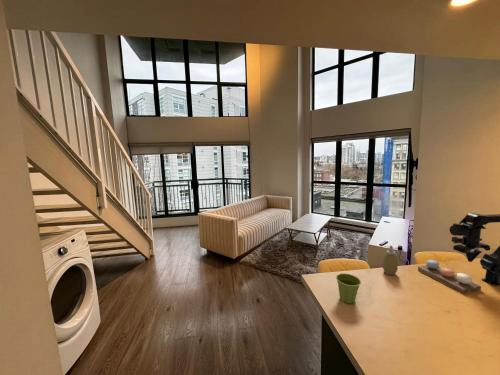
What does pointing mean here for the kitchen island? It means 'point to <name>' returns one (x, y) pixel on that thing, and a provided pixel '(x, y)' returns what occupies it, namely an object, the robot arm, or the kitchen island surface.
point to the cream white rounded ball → (464, 278)
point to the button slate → (432, 264)
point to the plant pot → (348, 287)
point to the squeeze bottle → (390, 262)
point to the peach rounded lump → (447, 272)
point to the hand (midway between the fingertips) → (469, 261)
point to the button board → (449, 280)
